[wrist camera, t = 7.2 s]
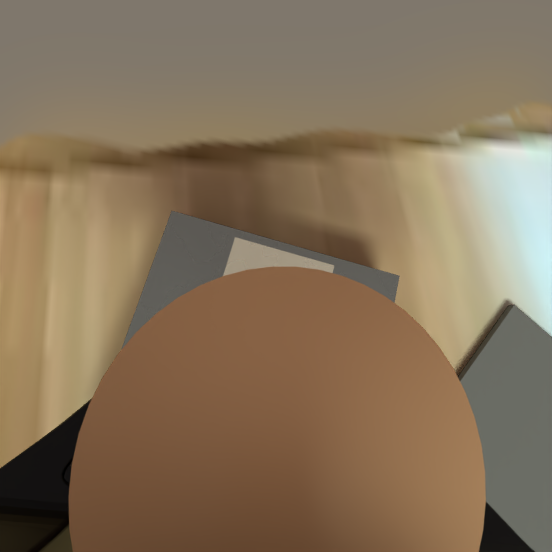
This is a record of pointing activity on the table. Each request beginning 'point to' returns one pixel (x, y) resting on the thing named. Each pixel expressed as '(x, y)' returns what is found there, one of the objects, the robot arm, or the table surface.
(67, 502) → the robot arm
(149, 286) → the flange plate
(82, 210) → the table surface
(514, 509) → the mat
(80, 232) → the table surface
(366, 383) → the peg
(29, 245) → the table surface
